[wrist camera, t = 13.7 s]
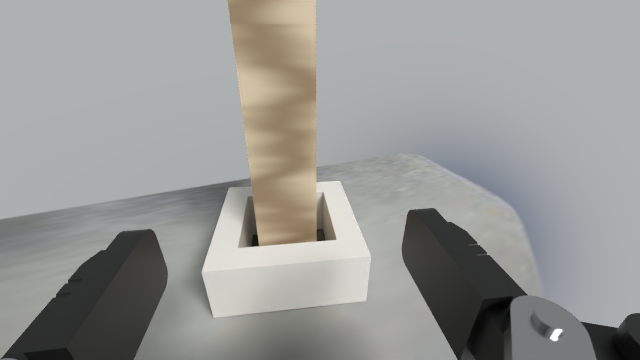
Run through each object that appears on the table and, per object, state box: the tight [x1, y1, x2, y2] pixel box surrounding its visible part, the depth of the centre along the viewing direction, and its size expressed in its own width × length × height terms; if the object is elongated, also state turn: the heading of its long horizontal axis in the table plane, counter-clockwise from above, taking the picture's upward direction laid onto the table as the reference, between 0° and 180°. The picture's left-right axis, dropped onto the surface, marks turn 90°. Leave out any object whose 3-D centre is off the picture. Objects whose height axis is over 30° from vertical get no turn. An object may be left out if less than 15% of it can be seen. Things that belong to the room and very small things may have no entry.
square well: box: [202, 181, 371, 318], centre depth 22 cm, size 10×10×4 cm
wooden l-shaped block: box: [228, 0, 317, 246], centre depth 20 cm, size 4×7×18 cm, turn 7°
